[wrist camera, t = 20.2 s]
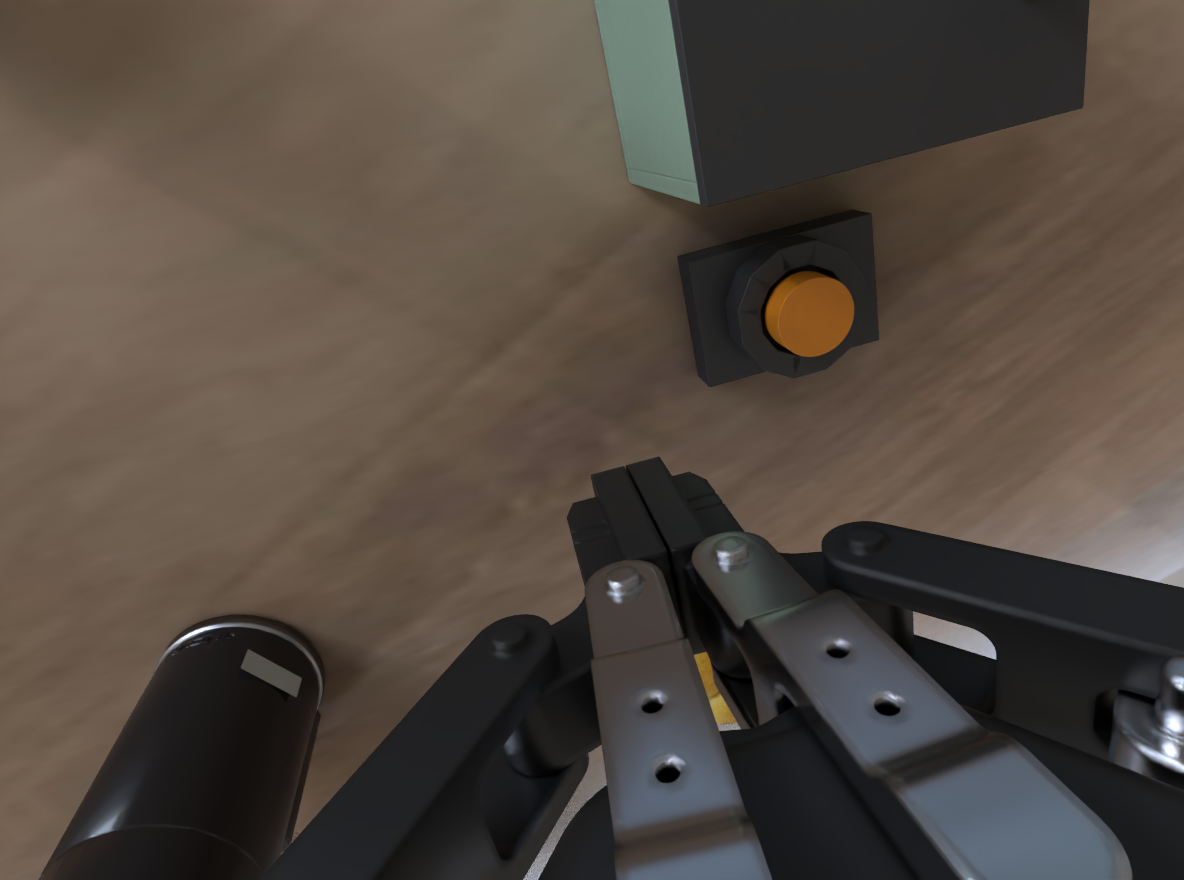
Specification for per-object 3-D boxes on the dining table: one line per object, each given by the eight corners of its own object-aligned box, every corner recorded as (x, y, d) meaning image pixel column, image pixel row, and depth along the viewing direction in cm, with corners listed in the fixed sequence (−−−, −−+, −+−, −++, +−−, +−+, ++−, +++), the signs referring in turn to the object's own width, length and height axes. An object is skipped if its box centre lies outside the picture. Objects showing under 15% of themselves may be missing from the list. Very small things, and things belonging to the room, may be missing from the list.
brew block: (852, 209, 39) (893, 217, 36) (861, 331, 42) (899, 349, 39) (677, 256, 39) (699, 269, 35) (698, 376, 42) (721, 400, 38)
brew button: (834, 261, 36) (851, 267, 35) (841, 336, 38) (857, 345, 36) (759, 281, 36) (773, 289, 35) (768, 356, 38) (782, 366, 36)
